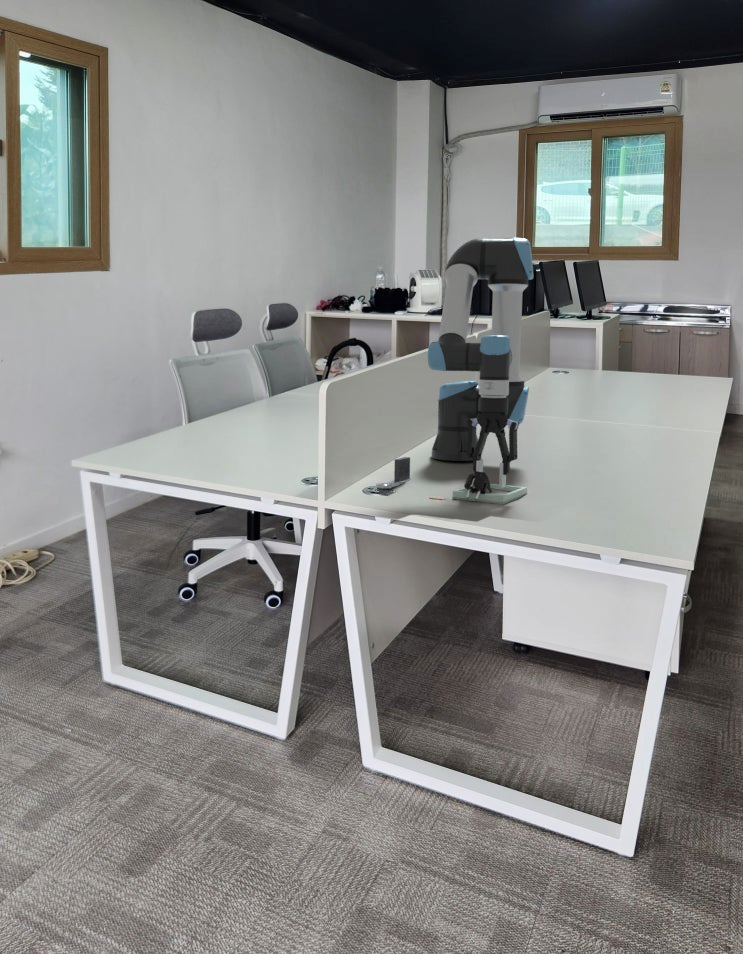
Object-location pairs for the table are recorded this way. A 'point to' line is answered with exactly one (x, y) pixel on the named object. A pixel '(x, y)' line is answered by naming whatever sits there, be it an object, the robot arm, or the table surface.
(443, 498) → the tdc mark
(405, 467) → the crank
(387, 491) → the hub
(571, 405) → the table surface
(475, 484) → the power plug
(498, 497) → the tray
